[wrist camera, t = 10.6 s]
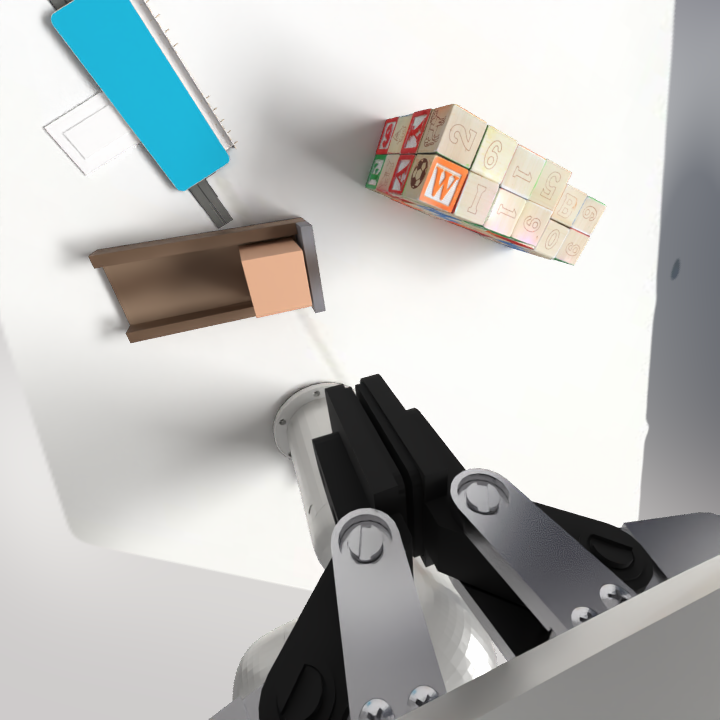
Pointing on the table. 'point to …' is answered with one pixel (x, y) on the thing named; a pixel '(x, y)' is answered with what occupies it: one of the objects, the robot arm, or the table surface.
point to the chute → (196, 277)
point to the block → (275, 276)
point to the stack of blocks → (483, 183)
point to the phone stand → (138, 98)
